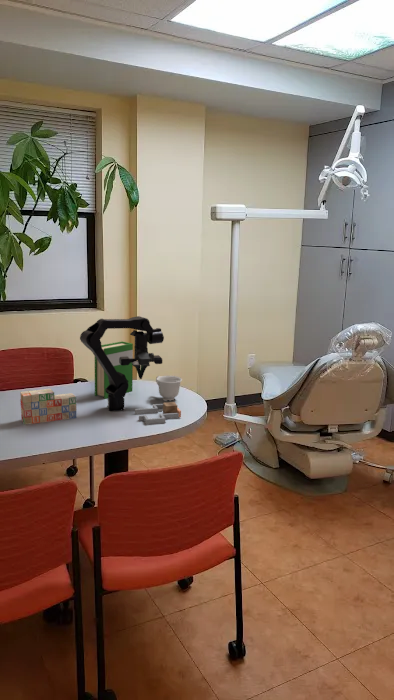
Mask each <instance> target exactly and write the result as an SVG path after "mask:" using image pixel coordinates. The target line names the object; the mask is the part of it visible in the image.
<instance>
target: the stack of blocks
mask: <svg viewBox="0 0 394 700" xmlns="http://www.w3.org/2000/svg"><path fill="white" fill-rule="evenodd" d="M19 401H20V413H21V422H22V423H23V425H33V424H39V423H47V422H54V421H61V420H69V419H76V418H77V396H76V395H75V394H74V393H72V392H70V393H60V394H55V392H54V391H53V390H52V389H51V388H45V389H36V390H25V391H20V400H19Z"/></svg>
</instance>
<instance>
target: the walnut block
mask: <svg viewBox="0 0 394 700" xmlns="http://www.w3.org/2000/svg"><path fill="white" fill-rule="evenodd" d="M162 404H163V412H162V414H168V413H177V407H178V404H177V403H176V402H175V401H166V402H165V401H164V402H163V403H162Z"/></svg>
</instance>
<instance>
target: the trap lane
mask: <svg viewBox="0 0 394 700" xmlns="http://www.w3.org/2000/svg"><path fill="white" fill-rule="evenodd" d="M162 411H163V403H155V404H154V403H153V404H152V407H148V408H135V409H134V415H138V421H140V422H144V423H145V424H146V425H154V424H155V425H156V424H166V420H168V418H172V419H180V418H179V417H181V418H182V410H181V409H180V408H179V406H177V413H168V414H163V412H162ZM157 413H160V414H159V417H155V418H152V417H151V418H149V417H148V416H147V415H148V414H157Z"/></svg>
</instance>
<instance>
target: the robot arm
mask: <svg viewBox="0 0 394 700" xmlns="http://www.w3.org/2000/svg"><path fill="white" fill-rule="evenodd" d="M150 322H151V321H150V320H149V319H148V318H146V317H142V316H140V315H139V316H133V317H130V318H111V319H110V318H109V319H107V318H100V319H99V318H98V319H97V321H96V322H95V323H94V324H93V323H92V325H90V326H89V327H87V329H86V330H83V331H82V332H81V334H80V336H79V340H80V342H81V343H82V344H83V345H84V346H85V347H86V348H87V349H88V350H90V351H91V353H92V354H93V355H94V358H95V357H96V359H97V360H98V362H99V363H100V365H101V366H102V368H103V369H104V371H105V372H106V374H107V376H108V380H109V383H110V384H109V386H108V387H107V388H106V389H105V391H106V393H107V394H108V398H107V406H106V407H107V409H108V411H109V412H115V411H124V410H125V397H126V394H127V393H126V391H127V389H128V387H129V384H128V382H129V381H128V380H127V379H126V377H125V375H124V374H122V373H120V372H117V371H116V369H115V368H114V366H113V365H112V363H111V362H110V360H109V358H108V357H107V355H106V354H105V352H104V351H103V349H102V346H101V345H102V341H101V339H102V338H103V336H105V333H106V331H107V330H108V329H111V330H112V329H113V330H114V329H117V330H118V329H133V330H132V331H131V333H129V334H130V336H132V337H134V345H133V349H134V351H133V354H134V355H133V358H129V357H128V356H127V357H120V358H119V363H120V364H121V365H129V364H130V363H132V365H133V368H134V367H135V369H136V372H137V375H138V378H139V380H142V379H143V376H144V373H145V371H146V369H147V368H148V367H150V366H151V364H150V363H152V362H153V363H154V364H155V365H162V364H163V358H162V357H161V356H160V355H155V354H154V352H149V351H148V344H149V345H155V344H162V343H163V342H164V340H165V336H164V334H163V332H162V328H160V327H157V328H153V327H152V326H151V323H150Z"/></svg>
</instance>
